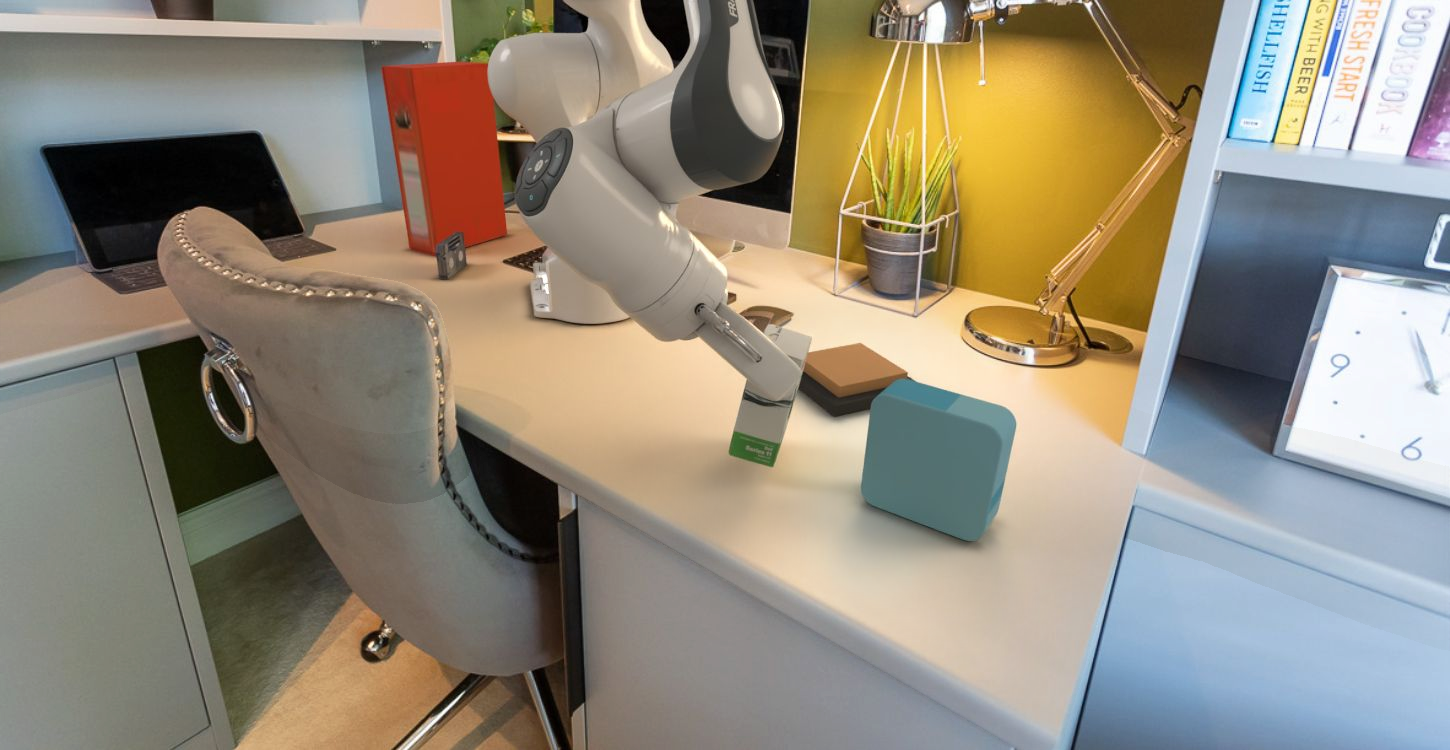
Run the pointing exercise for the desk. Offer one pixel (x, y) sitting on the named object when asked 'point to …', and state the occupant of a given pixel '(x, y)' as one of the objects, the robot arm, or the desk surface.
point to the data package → (937, 457)
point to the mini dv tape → (451, 255)
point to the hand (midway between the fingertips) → (768, 372)
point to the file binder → (445, 152)
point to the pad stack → (847, 378)
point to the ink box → (767, 406)
